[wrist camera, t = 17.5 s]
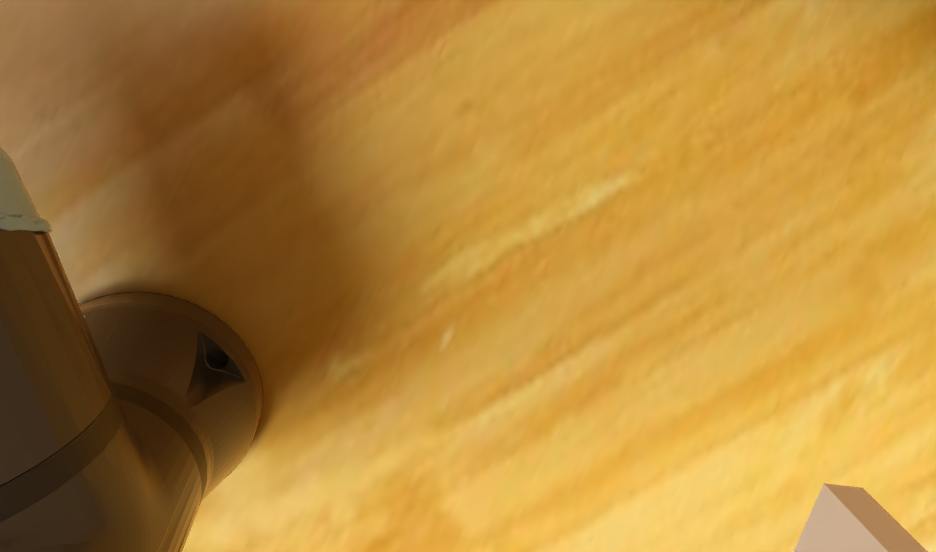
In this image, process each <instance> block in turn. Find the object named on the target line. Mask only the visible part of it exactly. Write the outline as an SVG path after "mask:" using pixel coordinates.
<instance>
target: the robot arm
mask: <svg viewBox="0 0 936 552" xmlns="http://www.w3.org/2000/svg"><path fill="white" fill-rule="evenodd" d="M50 231H52V229H51V227H50V225H49V223H48V222H47V221H46V220H44V219H42V218H40V216H39V214H38V212H37V210H36V208H35V206H34V204H33V202H32V200H31V198H30V196H29V194H28V192H27V190H26V188H25V186H24V184H23V182H22V180H21V178H20V175H19V173H18V171H17V169H16V167H15V165H14V163H13V161H12V160H11V158H10V157H9V155H8V154H7V153H6V152H5V151H4V150H3V149H2V148H1V147H0V552H182V550H183V548H184V545H185V543H186V540H187V537H188V535H189V532H190V530H191V527H192V524H193V522H194V519H195V516H196V514H197V511H198V508H199V505H200V503H201V501H202V500H203V499H204V498H205V497H206V496H207V495H208V494H209V493H210V492H211V491H212V490H213V489H214V488H215V487H216V486H217V485H218V484H219V483H220V482H221V481H222V480H223V479H225V478H226V477H227V476H228V475H229V474H230V473H231V472H232V471H233V470H234V469H235V468H236V467H237V466H238V464H239V463H240V462H241V460H242V459H243V457H244V456H245V454H246V453H247V451H248V449H249V447H250V445H251V443H252V441H253V438H254V435H255V432H256V429H257V426H258V423H259V420H260V416H261V412H262V404H263V391H262V383H261V378H260V374H259V371H258V368H257V366H256V363H255V361H254V359H253V357H252V355H251V353H250V352H249V350H248V349H247V347H246V346H245V344H244V343H243V342H242V340H241V339H240V338H239V337H238V336H237V335H236V333H235V332H234V331H233V330H232V329H231V328H229V327H228V326H227V325H226V324H225V323H224V322H222V321H221V320H220V319H218V318H217V317H216V316H214V315H213V314H211V313H209V312H208V311H206V310H204V309H202V308H200V307H198V306H196V305H194V304H192V303H189V302H187V301H184V300H181V299H178V298H174V297H170V296H166V295H161V294H154V293H142V292H131V293H119V294H113V295H108V296H104V297H100V298H97V299H94V300H91V301H89V302H86V303H84V304H82V305H80V306H79V305H78V302H77V300H76V298H75V295H74V293H73V290H72V288H71V286H70V283H69V281H68V278H67V276H66V274H65V271H64V269H63V266H62V264H61V262H60V259H59V257H58V254H57V252H56V250H55V247H54V245H53V242H52V240H51V238H50V235H49V233H48V232H50ZM794 552H928V551H927V550H925V549H924V548H923V547H922V546H921V545H920V544H919V543H918V542H917V541H916V540H915V539H914V538H913V537H912V536H911V535H910V534H909V533H908V532H907V531H906V530H905V529H904V528H903V527H902V526H901V525H900V524H899V523H898V522H897V521H896V520H895V519H894V518H893V517H892V516H891V515H890V514H889V513H888V512H887V511H886V510H885V509H884V508H883V507H882V506H881V505H880V504H879V503H878V502H877V501H876V500H875V499H874V498H872V497H871V496H870V495H869V494H868V493H867V492H866V491H865V490H864V489H863V488H859V487H850V486H841V485H832V484H823V487H822V489H821V491H820V493H819V496H818V498H817V500H816V502H815V505H814V507H813V509H812V511H811V513H810V516H809V518H808V520H807V522H806V525H805V527H804V529H803V531H802V534H801V536H800V538H799V540H798V543H797V545H796V547H795V549H794Z"/></svg>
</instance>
